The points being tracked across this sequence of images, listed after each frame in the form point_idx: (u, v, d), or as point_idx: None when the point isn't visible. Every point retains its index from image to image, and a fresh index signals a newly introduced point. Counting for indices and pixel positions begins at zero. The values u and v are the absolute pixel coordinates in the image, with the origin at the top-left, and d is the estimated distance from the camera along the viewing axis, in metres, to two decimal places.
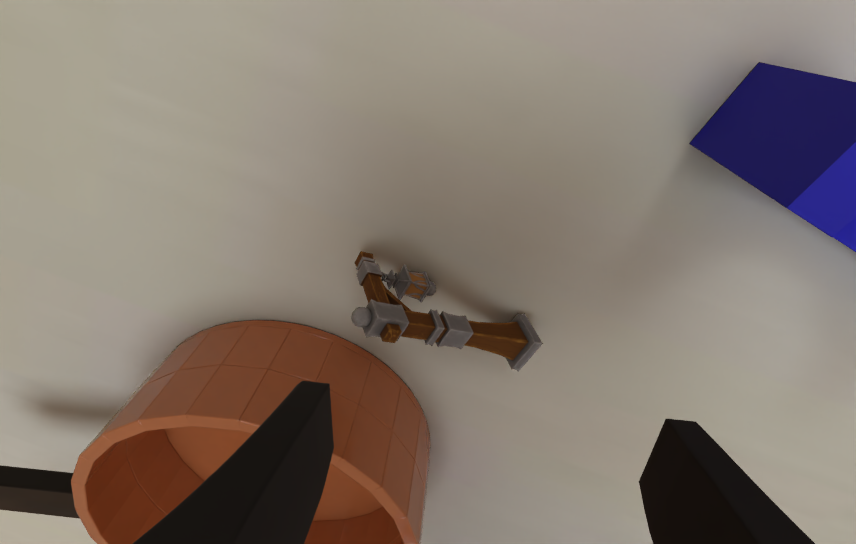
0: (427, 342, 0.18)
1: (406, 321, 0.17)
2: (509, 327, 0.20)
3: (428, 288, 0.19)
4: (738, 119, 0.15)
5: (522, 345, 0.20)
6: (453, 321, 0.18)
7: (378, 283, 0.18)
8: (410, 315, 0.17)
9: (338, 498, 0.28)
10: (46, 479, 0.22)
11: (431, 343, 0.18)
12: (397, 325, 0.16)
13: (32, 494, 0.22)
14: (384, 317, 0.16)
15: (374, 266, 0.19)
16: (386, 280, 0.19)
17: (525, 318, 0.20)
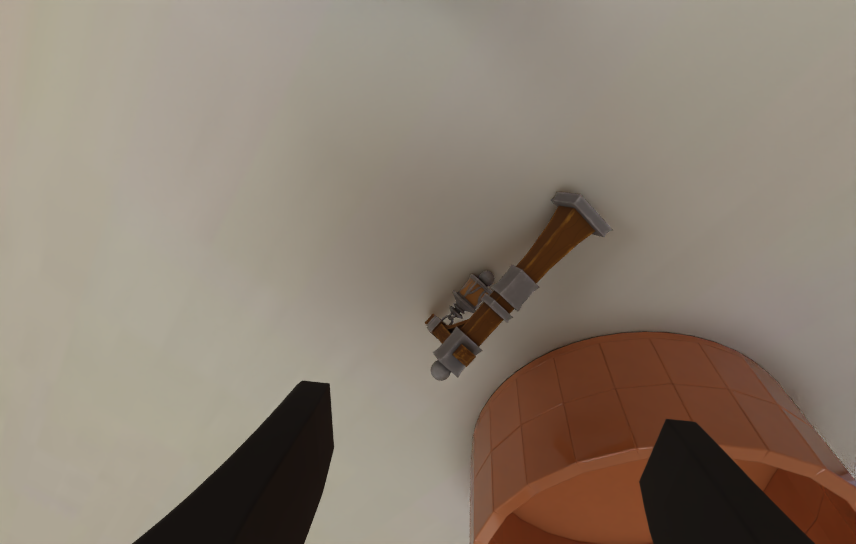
0: (505, 320, 0.17)
1: (461, 335, 0.16)
2: (554, 219, 0.17)
3: (479, 282, 0.19)
4: None
5: (576, 215, 0.16)
6: (502, 283, 0.17)
7: (441, 330, 0.18)
8: (468, 324, 0.17)
9: None
10: None
11: (509, 316, 0.16)
12: (460, 345, 0.16)
13: None
14: (445, 353, 0.16)
15: (434, 321, 0.19)
16: (452, 317, 0.19)
17: (559, 194, 0.17)
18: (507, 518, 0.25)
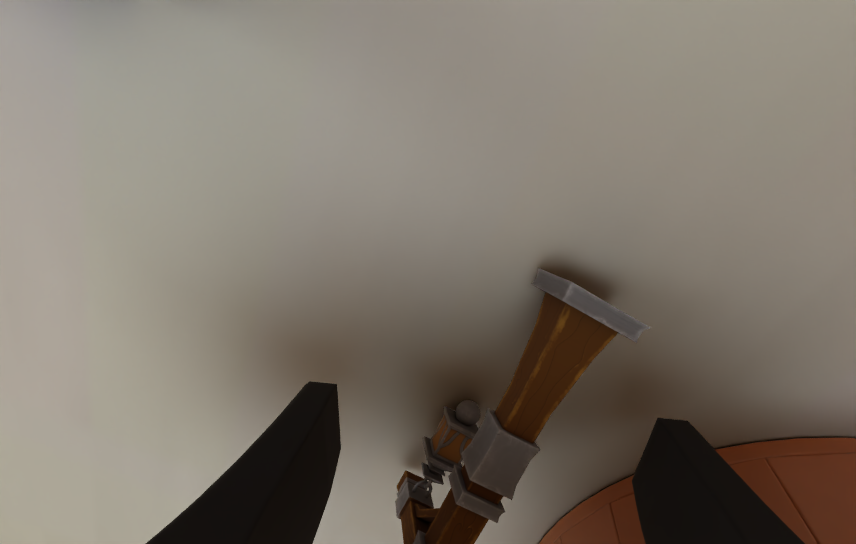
0: (493, 519, 0.09)
1: None
2: (541, 322, 0.10)
3: (453, 426, 0.12)
4: None
5: (576, 315, 0.09)
6: (475, 450, 0.10)
7: (408, 518, 0.11)
8: (433, 529, 0.10)
9: None
10: None
11: (498, 512, 0.09)
12: None
13: None
14: None
15: (403, 493, 0.12)
16: (427, 484, 0.12)
17: (542, 273, 0.10)
18: None
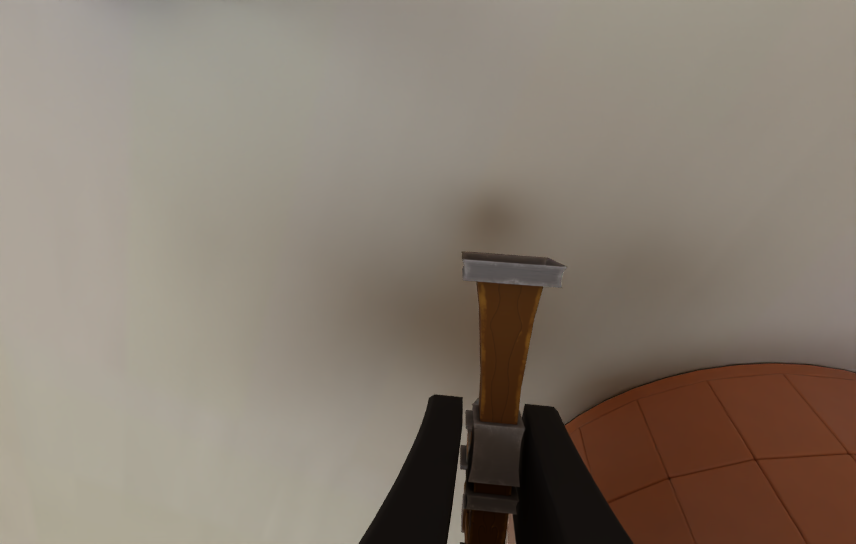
0: (510, 512, 0.09)
1: None
2: None
3: (472, 428, 0.11)
4: None
5: (491, 287, 0.08)
6: (471, 449, 0.09)
7: (465, 531, 0.11)
8: (468, 538, 0.10)
9: None
10: None
11: (512, 503, 0.09)
12: None
13: None
14: None
15: (462, 507, 0.12)
16: None
17: (463, 256, 0.10)
18: None
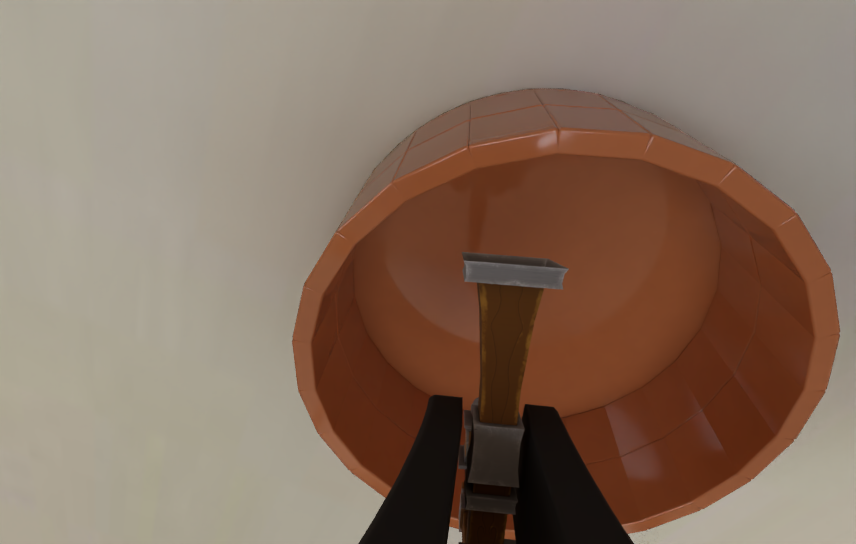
0: (509, 512, 0.09)
1: None
2: (479, 303, 0.09)
3: (470, 428, 0.11)
4: None
5: (493, 288, 0.08)
6: (470, 449, 0.09)
7: (463, 530, 0.11)
8: (466, 538, 0.10)
9: (663, 248, 0.17)
10: None
11: (511, 504, 0.09)
12: None
13: None
14: None
15: (459, 506, 0.12)
16: None
17: (463, 257, 0.10)
18: (422, 402, 0.21)
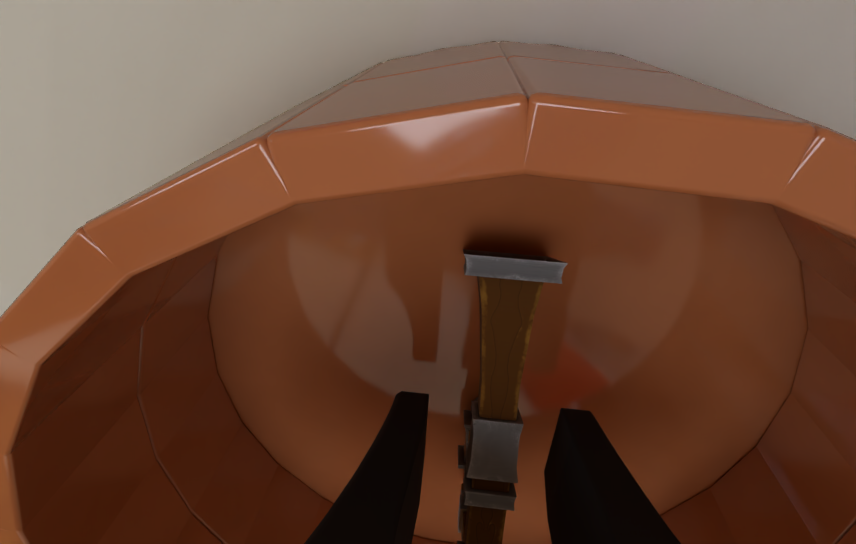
0: (508, 508, 0.09)
1: None
2: (479, 299, 0.09)
3: (470, 427, 0.11)
4: None
5: (493, 282, 0.09)
6: (469, 445, 0.09)
7: (462, 531, 0.11)
8: (465, 535, 0.10)
9: (711, 328, 0.10)
10: None
11: (510, 500, 0.09)
12: None
13: None
14: None
15: (459, 507, 0.12)
16: None
17: (464, 253, 0.10)
18: None
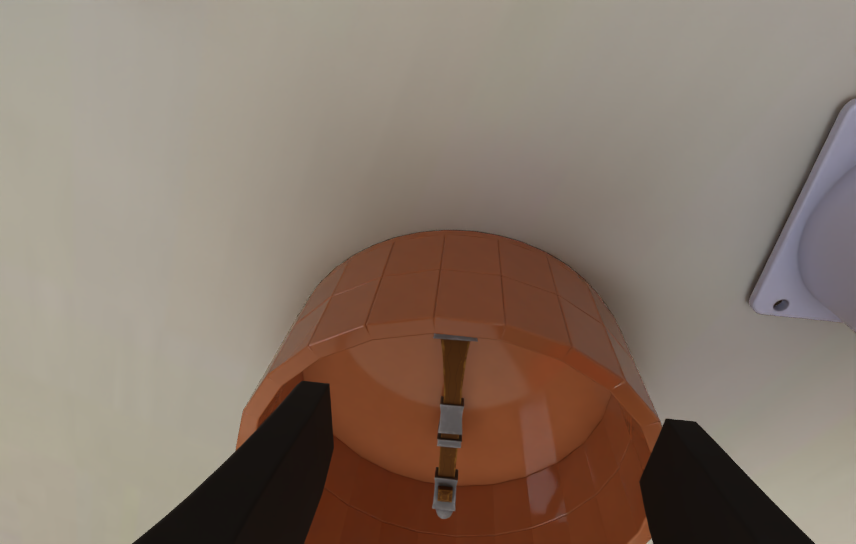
0: (458, 447, 0.19)
1: None
2: None
3: None
4: None
5: (447, 340, 0.18)
6: None
7: None
8: None
9: None
10: None
11: (458, 442, 0.19)
12: (438, 488, 0.19)
13: None
14: (433, 499, 0.19)
15: None
16: None
17: None
18: (366, 471, 0.24)
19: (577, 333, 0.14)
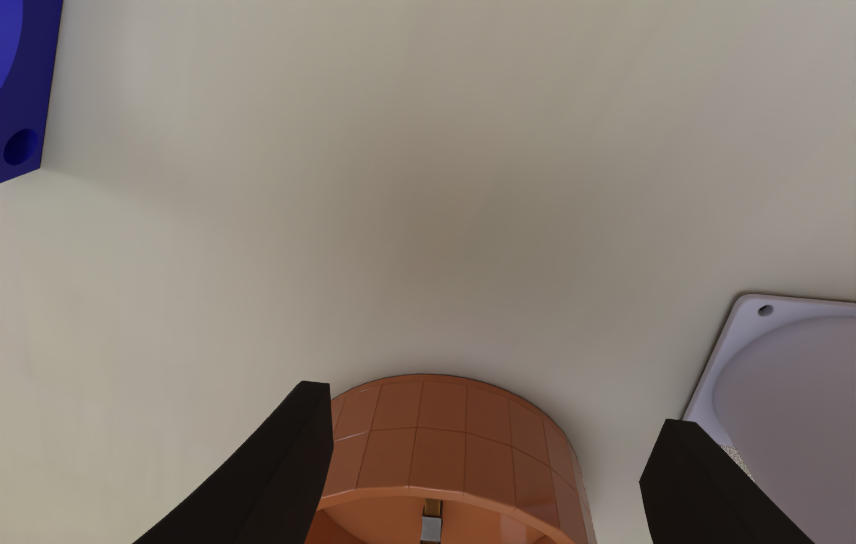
0: None
1: None
2: None
3: None
4: None
5: None
6: None
7: None
8: None
9: None
10: None
11: None
12: None
13: None
14: None
15: None
16: None
17: None
18: None
19: (523, 488, 0.18)
